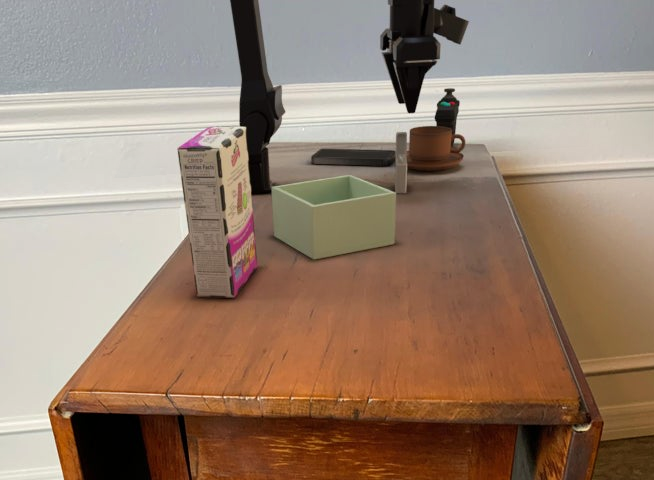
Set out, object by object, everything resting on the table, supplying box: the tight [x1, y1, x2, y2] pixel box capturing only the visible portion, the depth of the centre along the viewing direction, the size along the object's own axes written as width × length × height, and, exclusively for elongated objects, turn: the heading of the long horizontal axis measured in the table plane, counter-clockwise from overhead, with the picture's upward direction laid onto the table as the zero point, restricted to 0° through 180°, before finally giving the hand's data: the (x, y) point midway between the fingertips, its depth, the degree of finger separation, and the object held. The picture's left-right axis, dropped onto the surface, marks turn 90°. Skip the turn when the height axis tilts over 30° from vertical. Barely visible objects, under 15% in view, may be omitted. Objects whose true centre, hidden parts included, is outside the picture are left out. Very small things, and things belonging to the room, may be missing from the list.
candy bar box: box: [176, 125, 258, 299], centre depth 91 cm, size 11×5×16 cm, turn 168°
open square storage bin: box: [271, 174, 397, 261], centre depth 107 cm, size 12×12×7 cm
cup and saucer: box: [395, 125, 466, 172], centre depth 140 cm, size 12×12×6 cm
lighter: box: [394, 131, 408, 194], centre depth 128 cm, size 7×2×8 cm, turn 176°
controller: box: [434, 87, 461, 148], centre depth 151 cm, size 4×12×10 cm, turn 168°
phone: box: [310, 148, 396, 167], centre depth 148 cm, size 8×1×15 cm
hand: (406, 108), depth 123 cm, fingers open, 9 cm apart
